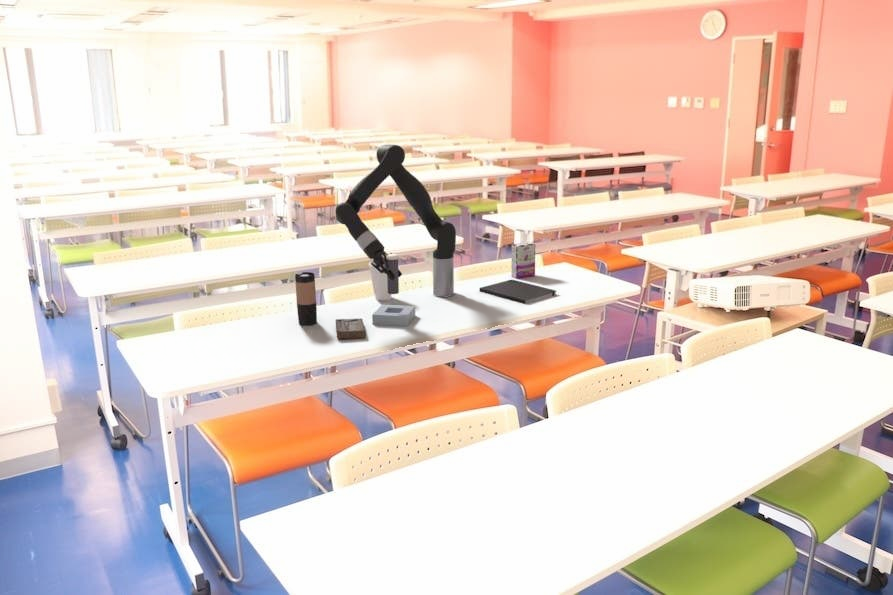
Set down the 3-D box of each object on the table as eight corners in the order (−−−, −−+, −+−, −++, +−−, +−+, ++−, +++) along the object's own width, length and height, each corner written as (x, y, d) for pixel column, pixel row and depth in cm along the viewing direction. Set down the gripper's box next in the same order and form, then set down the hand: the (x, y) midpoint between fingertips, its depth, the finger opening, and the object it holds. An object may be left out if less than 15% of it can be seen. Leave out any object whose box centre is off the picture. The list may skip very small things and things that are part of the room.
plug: (388, 290, 296) (388, 253, 292) (400, 291, 295) (400, 254, 291) (385, 294, 292) (384, 256, 287) (397, 294, 291) (396, 257, 287)
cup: (368, 302, 321) (367, 266, 316) (371, 294, 332) (369, 260, 328) (396, 301, 321) (395, 266, 316) (397, 294, 332) (396, 259, 328)
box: (337, 339, 273) (336, 331, 273) (335, 326, 290) (335, 318, 289) (365, 338, 275) (365, 330, 275) (362, 325, 292) (362, 317, 291)
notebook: (479, 292, 336) (525, 305, 316) (479, 287, 336) (525, 300, 316) (511, 283, 350) (557, 295, 330) (511, 279, 350) (557, 290, 330)
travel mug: (315, 325, 290) (312, 276, 284) (296, 325, 290) (292, 276, 285) (319, 319, 297) (316, 271, 292) (300, 319, 298) (297, 272, 292)
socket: (382, 313, 305) (382, 304, 304) (415, 315, 302) (415, 306, 301) (372, 324, 292) (372, 314, 290) (406, 326, 289) (406, 316, 288)
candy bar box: (529, 273, 366) (530, 241, 362) (535, 276, 362) (536, 243, 358) (510, 276, 361) (511, 243, 357) (516, 279, 357) (517, 245, 352)
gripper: (365, 242, 285) (393, 275, 283) (385, 235, 297) (411, 267, 295) (354, 254, 288) (382, 287, 287) (374, 247, 301) (400, 279, 299)
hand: (397, 277), depth 291 cm, fingers closed on plug, 4 cm apart
